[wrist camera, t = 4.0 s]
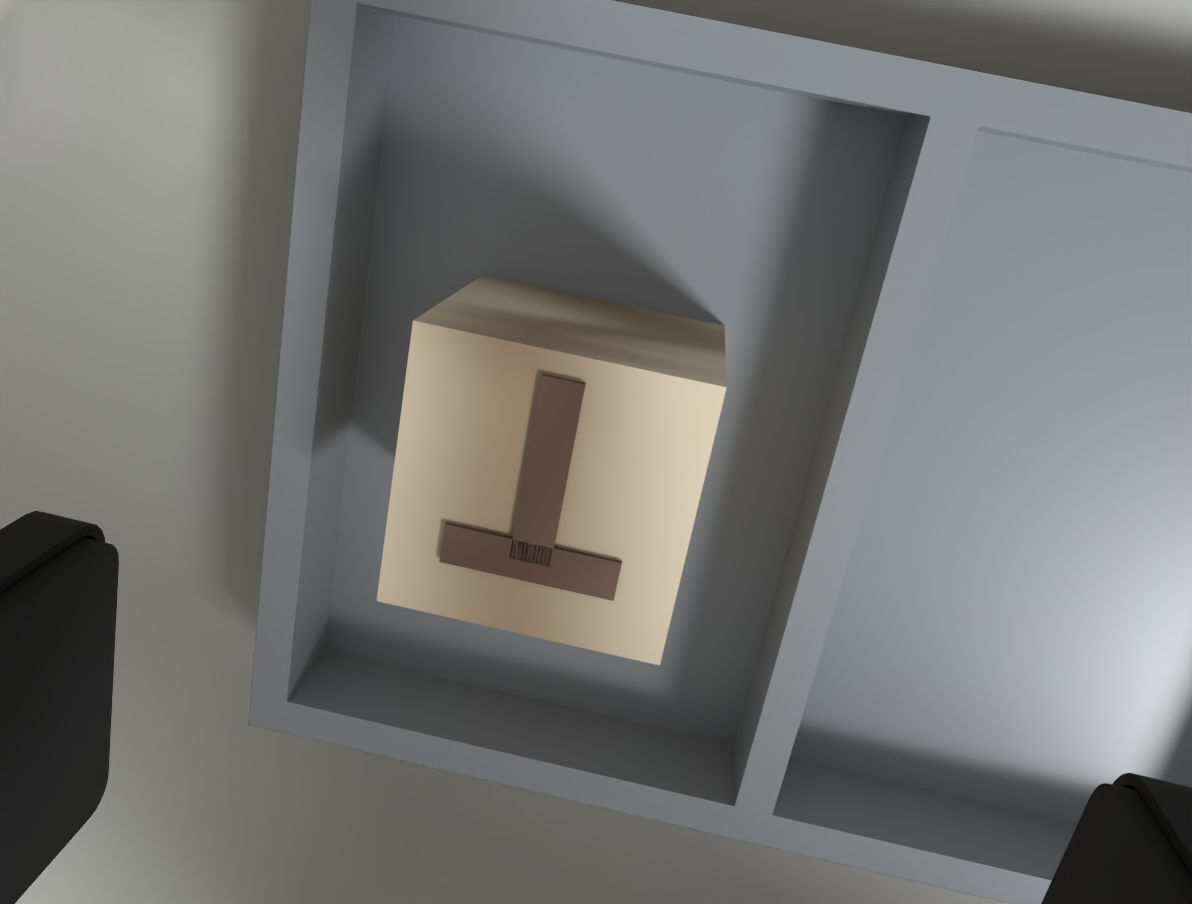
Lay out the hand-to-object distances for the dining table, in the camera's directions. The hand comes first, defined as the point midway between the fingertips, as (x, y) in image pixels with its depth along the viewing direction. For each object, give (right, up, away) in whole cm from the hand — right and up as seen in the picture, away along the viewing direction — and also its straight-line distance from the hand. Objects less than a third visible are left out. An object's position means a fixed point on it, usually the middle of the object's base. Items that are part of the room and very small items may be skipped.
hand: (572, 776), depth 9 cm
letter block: (0, +4, +12) cm, 12 cm away
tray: (+5, +3, +12) cm, 13 cm away
